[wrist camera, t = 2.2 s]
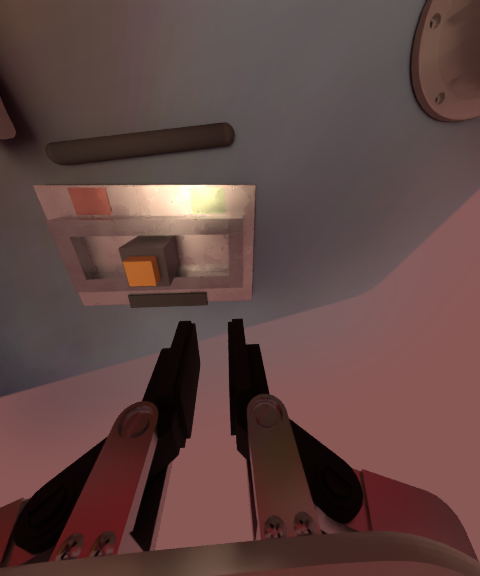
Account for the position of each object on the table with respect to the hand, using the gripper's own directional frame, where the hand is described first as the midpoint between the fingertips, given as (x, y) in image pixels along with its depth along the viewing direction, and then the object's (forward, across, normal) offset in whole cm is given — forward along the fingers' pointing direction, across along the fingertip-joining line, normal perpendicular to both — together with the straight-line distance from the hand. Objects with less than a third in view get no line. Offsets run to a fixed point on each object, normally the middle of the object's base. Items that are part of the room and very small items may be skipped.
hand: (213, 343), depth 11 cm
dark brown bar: (+17, +7, +6) cm, 20 cm away
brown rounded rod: (+17, +7, -10) cm, 21 cm away
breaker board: (+17, +7, 0) cm, 19 cm away
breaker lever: (+15, +7, 0) cm, 17 cm away
